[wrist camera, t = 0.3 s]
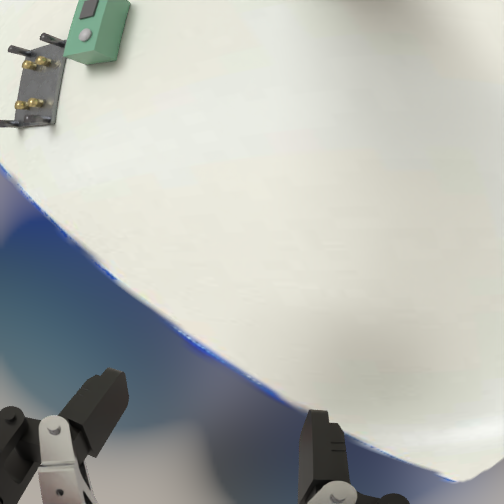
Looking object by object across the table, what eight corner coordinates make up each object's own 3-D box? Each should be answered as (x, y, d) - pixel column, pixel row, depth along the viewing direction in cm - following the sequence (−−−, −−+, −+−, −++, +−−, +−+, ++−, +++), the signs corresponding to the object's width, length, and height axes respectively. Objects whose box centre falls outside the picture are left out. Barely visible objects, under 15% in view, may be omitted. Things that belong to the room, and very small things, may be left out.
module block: (101, 9, 32) (78, -6, 25) (130, 3, 31) (109, -14, 25) (86, 65, 34) (60, 55, 28) (116, 60, 34) (91, 48, 28)
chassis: (30, 52, 34) (8, 46, 28) (70, 41, 33) (47, 31, 27) (17, 127, 38) (-7, 127, 32) (55, 123, 37) (29, 122, 32)
